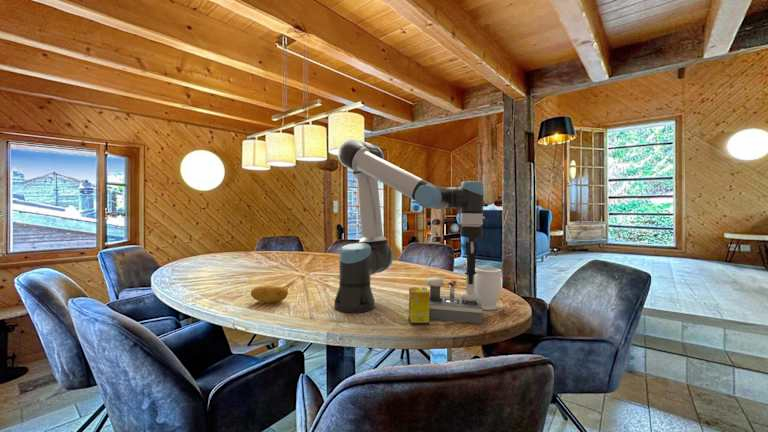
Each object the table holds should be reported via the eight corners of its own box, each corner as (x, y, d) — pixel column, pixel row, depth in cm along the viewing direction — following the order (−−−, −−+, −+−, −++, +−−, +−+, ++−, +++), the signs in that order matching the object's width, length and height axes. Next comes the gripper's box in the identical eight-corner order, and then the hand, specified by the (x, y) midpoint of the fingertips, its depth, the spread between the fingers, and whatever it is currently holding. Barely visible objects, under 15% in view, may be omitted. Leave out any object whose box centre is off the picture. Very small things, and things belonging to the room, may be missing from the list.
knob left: (426, 299, 116) (427, 280, 116) (427, 295, 122) (428, 276, 122) (442, 301, 115) (443, 281, 115) (443, 296, 121) (443, 277, 121)
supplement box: (408, 318, 113) (408, 287, 112) (425, 318, 113) (426, 287, 113) (411, 325, 107) (411, 291, 106) (429, 325, 107) (430, 291, 107)
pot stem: (445, 316, 116) (446, 282, 116) (445, 312, 120) (446, 279, 120) (457, 317, 115) (458, 282, 115) (457, 313, 119) (458, 280, 119)
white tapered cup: (502, 312, 121) (503, 272, 121) (473, 310, 124) (474, 270, 123) (498, 304, 132) (499, 266, 131) (471, 302, 134) (472, 265, 133)
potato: (283, 306, 123) (283, 288, 123) (247, 305, 124) (247, 287, 124) (290, 300, 131) (290, 283, 131) (256, 299, 132) (257, 282, 132)
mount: (421, 318, 114) (422, 303, 113) (424, 307, 126) (425, 294, 125) (482, 323, 109) (482, 308, 109) (479, 312, 121) (479, 298, 121)
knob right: (461, 314, 114) (461, 294, 114) (460, 309, 120) (461, 290, 119) (477, 316, 113) (478, 295, 113) (476, 311, 119) (477, 291, 118)
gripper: (484, 227, 108) (482, 298, 109) (481, 224, 121) (479, 288, 122) (461, 226, 110) (459, 296, 110) (460, 224, 122) (458, 287, 123)
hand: (470, 292), depth 116 cm, fingers closed
